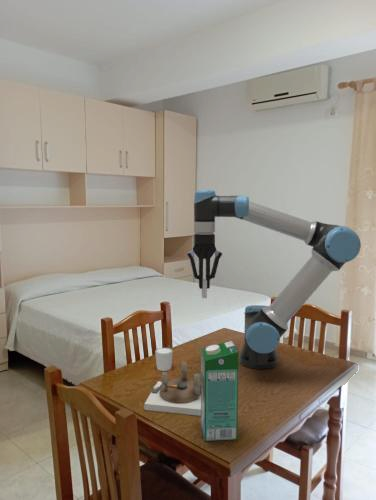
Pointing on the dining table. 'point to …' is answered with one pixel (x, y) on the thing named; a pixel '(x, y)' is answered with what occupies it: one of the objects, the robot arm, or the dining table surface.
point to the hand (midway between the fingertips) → (204, 297)
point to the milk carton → (219, 391)
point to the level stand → (171, 404)
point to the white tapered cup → (164, 358)
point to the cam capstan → (180, 387)
